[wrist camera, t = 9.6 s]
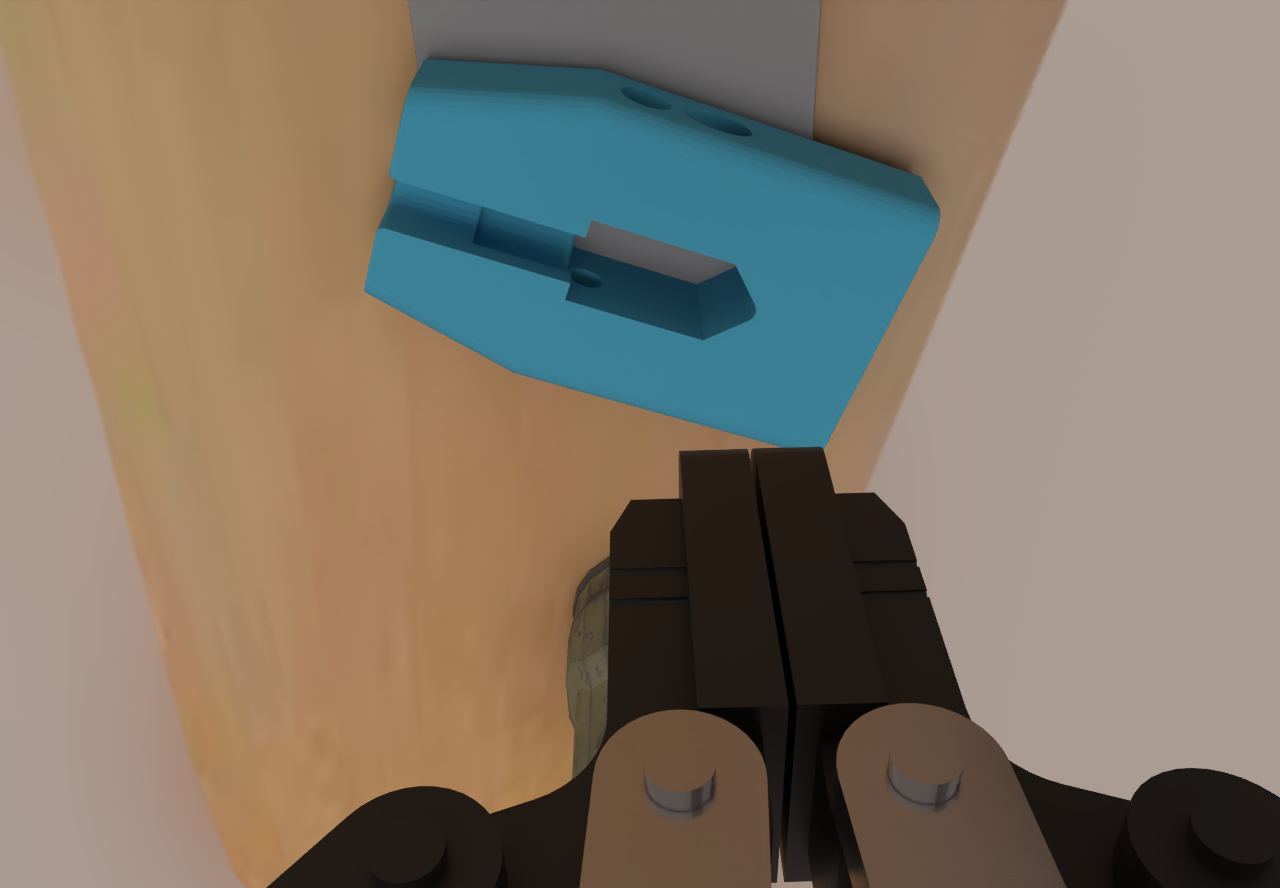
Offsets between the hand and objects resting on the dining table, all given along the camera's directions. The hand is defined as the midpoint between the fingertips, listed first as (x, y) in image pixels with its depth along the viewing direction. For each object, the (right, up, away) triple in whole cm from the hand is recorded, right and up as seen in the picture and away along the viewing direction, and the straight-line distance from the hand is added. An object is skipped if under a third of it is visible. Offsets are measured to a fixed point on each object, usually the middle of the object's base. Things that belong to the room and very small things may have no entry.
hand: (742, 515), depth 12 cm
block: (-11, +11, +31) cm, 35 cm away
